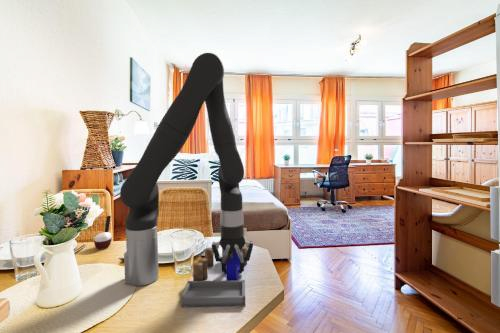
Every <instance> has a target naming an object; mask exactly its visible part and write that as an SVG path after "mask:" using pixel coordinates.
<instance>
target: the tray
mask: <svg viewBox="0 0 500 333" xmlns="http://www.w3.org/2000/svg"><path fill="white" fill-rule="evenodd" d="M180 300H181V301H180V302H181V305H180V306H181V308H203V307H204V308H206V307H207V308H209V307H212V308H214V307H220V308H221V307H246V280H245V279H244V280H243V279H242V280H239V279H238V280H227V279H226V280H203V281H193V280H187V283H186V285H185V288H184V290H183V292H182V296H181V298H180Z"/></svg>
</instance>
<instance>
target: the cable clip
mask: <svg viewBox="0 0 500 333" xmlns="http://www.w3.org/2000/svg"><path fill="white" fill-rule="evenodd" d="M225 275H226V281H227V280H239V278H240V275H241V274H240V259H239V257H238V254H235V253H233V258H229V260H228V263H227V265H226V274H225Z"/></svg>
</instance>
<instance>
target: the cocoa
mask: <svg viewBox="0 0 500 333" xmlns="http://www.w3.org/2000/svg"><path fill="white" fill-rule="evenodd" d="M110 223H111V215H107V216H106V221H105V226H104V231H103V232H100V233H98V234H97V235H95V236H94V238H93V243H94V247H95V248H96V249H97V250H104V249H107V248H109V247H110V245H111V242H112V233H111V232H109V229H110Z"/></svg>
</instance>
